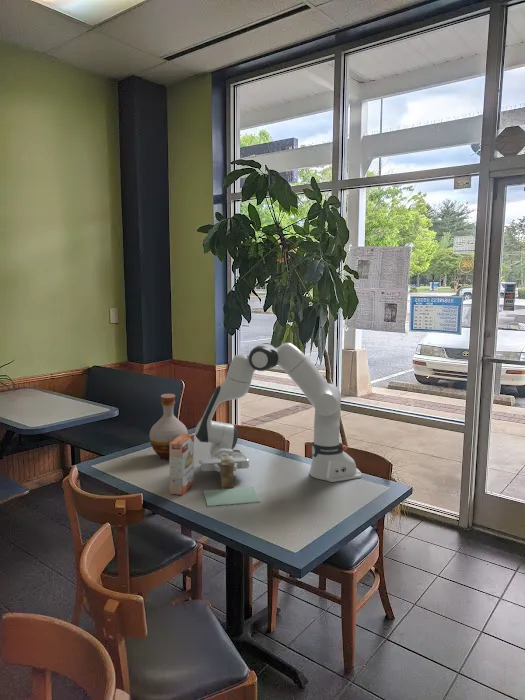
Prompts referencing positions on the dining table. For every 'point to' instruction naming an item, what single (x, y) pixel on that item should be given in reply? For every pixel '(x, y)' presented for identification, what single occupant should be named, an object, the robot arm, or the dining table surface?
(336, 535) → the dining table surface
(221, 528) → the dining table surface
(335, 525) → the dining table surface
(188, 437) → the cracker box
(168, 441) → the jug
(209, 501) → the rubber mat
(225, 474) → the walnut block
